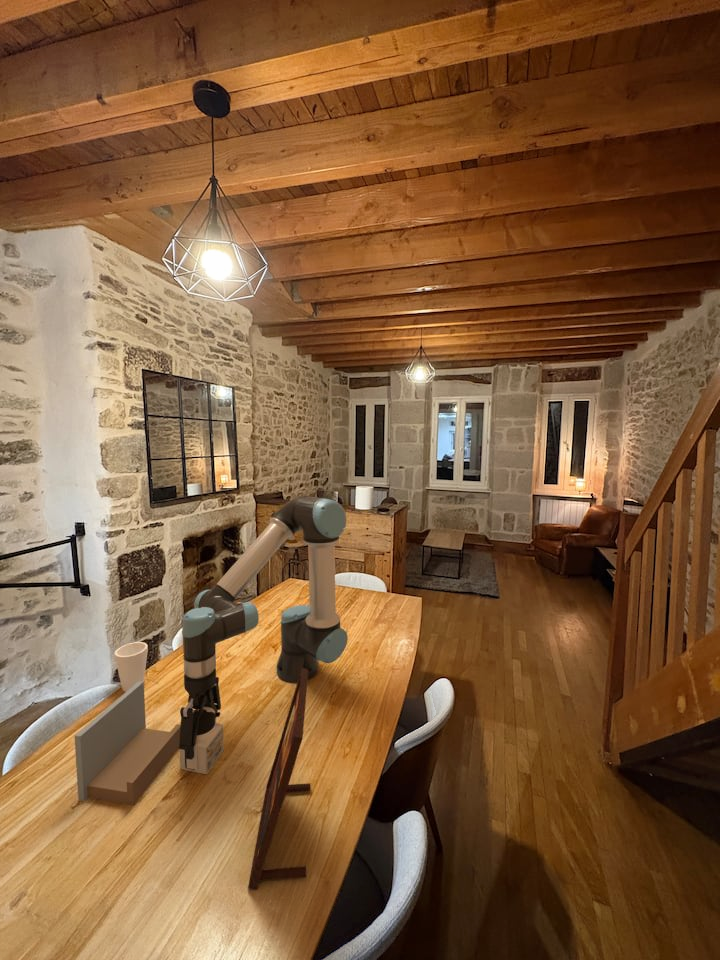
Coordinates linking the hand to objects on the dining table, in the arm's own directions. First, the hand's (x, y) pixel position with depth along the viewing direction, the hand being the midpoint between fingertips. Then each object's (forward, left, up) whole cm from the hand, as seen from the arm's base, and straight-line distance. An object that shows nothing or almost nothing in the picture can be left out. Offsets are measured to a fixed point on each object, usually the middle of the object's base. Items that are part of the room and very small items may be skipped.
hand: (202, 753), depth 98 cm
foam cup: (+40, -24, -2) cm, 47 cm away
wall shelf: (+15, +5, -2) cm, 16 cm away
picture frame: (-27, +14, -2) cm, 31 cm away
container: (0, 0, -2) cm, 2 cm away
